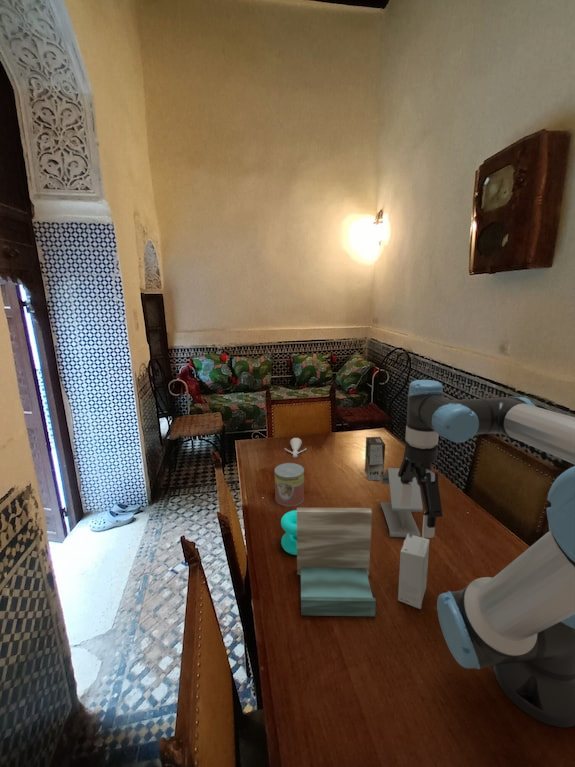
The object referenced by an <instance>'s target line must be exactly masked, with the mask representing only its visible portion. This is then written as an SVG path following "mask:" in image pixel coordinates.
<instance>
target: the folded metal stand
mask: <svg viewBox="0 0 575 767" xmlns="http://www.w3.org/2000/svg"><path fill="white" fill-rule="evenodd" d="M399 470H400V468H399V467H398V468H397V467H387V469H386V471H385V472H384V474H383V477H382V479H381V480H380V481H381V485H389V492H390V501H391V502H386V501H385V502H380V503H379V506H380V508H382V512H383V514H384V517H385V521H386V523H387V527H388V530H389V531H388V536H389V537H390V538H406V536H407V534H411V535H414V536H418V537H421V531H420V529H419V527H418V525H417V523H416V521H415V518H414V516H413V514H412V512H414V513H418V512H419V513H422V512H423V513H424V506H423V498H422V493H421V488H420V486H419V485H418V484H417V479H416V478H415V477H414V478H413V479H412V480H413V482H409V483H411V484H412V495H411V506H401V505H400V500H401V484H402V483H401V477H399V476H398V473H399Z"/></svg>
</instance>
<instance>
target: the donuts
mask: <svg viewBox="0 0 575 767" xmlns="http://www.w3.org/2000/svg"><path fill="white" fill-rule="evenodd" d="M280 525H281V528H282V529H283V531H284V532H285V533H284V534H283V535H282V537H281V540H280V541H281V542H280V544H281V547H282V548H283V550H284V551H285V552H286V553H288V554H290V555H293V556H297V509H296V510H290V511H288V512H286V513H284V514H283V516H282V517H281V520H280Z"/></svg>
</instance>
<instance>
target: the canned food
mask: <svg viewBox="0 0 575 767" xmlns="http://www.w3.org/2000/svg"><path fill="white" fill-rule="evenodd" d="M273 473H274V501H275V503H277V504H278V505H281V506H283V507H296V506H299V505H300V504H302V503H303V502H304V500H305V468H304V467H303V466H302V465H300V464H298V463H295V462H285V463H280V464H279V465H277V466H276V467H275V468H274V472H273Z"/></svg>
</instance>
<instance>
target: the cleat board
mask: <svg viewBox="0 0 575 767" xmlns="http://www.w3.org/2000/svg"><path fill="white" fill-rule="evenodd" d="M296 510H297V555H296V575H297V576H298V575H299V576H300V616H318V617H320V616H325V617H326V616H329V617H333V616H334V617H338V616H339V617H376V605H377V604H376V603H377V599H376V597H373V593H372V589H371V588H372V587H371V585H370V580H369V576H370V562H371V561H370V560H371V543H372V542H371V541H372V540H371V539H372V521H373V519H372V518H373V512H372V508H371V507H296Z"/></svg>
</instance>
